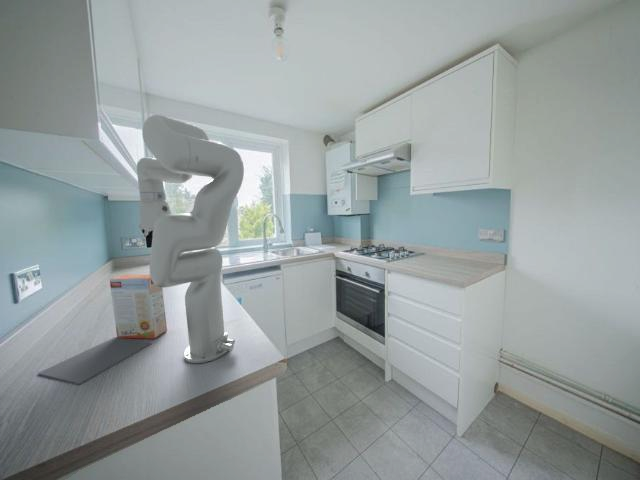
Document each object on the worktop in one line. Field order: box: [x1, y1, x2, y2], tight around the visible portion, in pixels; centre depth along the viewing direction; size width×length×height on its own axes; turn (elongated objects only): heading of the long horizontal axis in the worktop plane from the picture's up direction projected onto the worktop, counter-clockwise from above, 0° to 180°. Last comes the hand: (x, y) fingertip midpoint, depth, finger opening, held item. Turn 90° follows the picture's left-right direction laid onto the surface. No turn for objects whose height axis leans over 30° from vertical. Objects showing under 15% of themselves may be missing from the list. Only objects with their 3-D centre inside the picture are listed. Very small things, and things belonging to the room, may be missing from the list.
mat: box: [37, 336, 153, 385], centre depth 66 cm, size 16×18×1 cm
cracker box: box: [109, 274, 168, 340], centre depth 77 cm, size 14×6×21 cm, turn 84°
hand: (158, 246), depth 84 cm, fingers open, 6 cm apart
